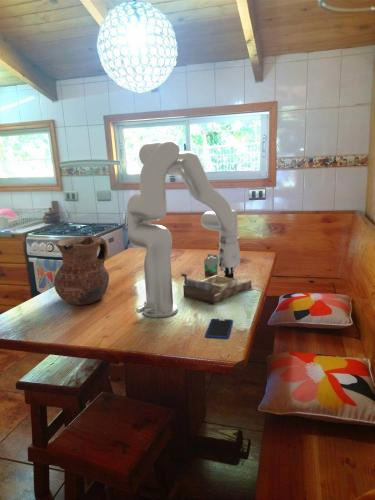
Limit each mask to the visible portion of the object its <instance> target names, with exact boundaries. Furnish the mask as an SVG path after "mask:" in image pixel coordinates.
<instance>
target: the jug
mask: <svg viewBox="0 0 375 500" xmlns="http://www.w3.org/2000/svg"><path fill="white" fill-rule="evenodd" d="M54 245H55V247H56V248H57V249H58V250H59V252H60V254H61V257H62V265H61V266H60V268H59V269H58V270H57V272H56V274H55V276H54V280H53V281H54V283H53V284H54V290H55V292H56V294H57V295H58V296H59V298H61V300H62V301H64V302H65V303H67V304H70V305H74V306H85V305H89V304H93V303H95V302H97V301H99V300H100V299H102V298H103V297H104V295H106V292H107V289H108V286H109V281H110V280H109V279H110V275H109V271H108V270H107V268H106V267H105V260H106V257H107V253H108V246H107V243H106V240H105V239H104V238H102V237H100V236H96V235H91V236H80V237H64V238H59V239H57V240H56V241H55V244H54ZM98 250H99V252H98ZM97 254H98V255H97Z"/></svg>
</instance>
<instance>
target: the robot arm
mask: <svg viewBox="0 0 375 500" xmlns="http://www.w3.org/2000/svg"><path fill="white" fill-rule="evenodd" d="M138 158H139V161H140V163H141V164H142V167H141V170H140V174H139V192H136V193H134V194H131V197H129V199H128V201H127V204H126V218H127V219H126V221H127V229H128V233H127V234H128V238H129V241H130V243H131V245H132V246H134V247H135V248H136V249H140V250H143V251H146V254H145V256H144V260H143V271H144V272H143V273H144V284H145V297H146V300H145V301H143V302H144V303H143V304H142V306H139V307H136V309H135V311H136V313H137V314H141V313H142V314H144V315H145V316H146V317H150V318H157V319H158V318H159V319H160V318H167V317H169V316H170V317H171V316H173V315H175V314H176V313H177V312H178V309H179V307H178V305H177V304H175V303H174V298H173V280H172V261H171V258H172V257H171V256H172V247H173V234H172V233H171V231H170V230H169V229H168V228H167V227H166V226H164V225H161V224H153V223H152V222H158V221H162V220H163V219H164V218H165V217H166V214H167V198H166V195H167V194H166V177H167V175H169V176H174V177H175V176H178V177H179V176H180V177H181V179H182V180H183V182H184V184H185V186H186V189H187V191H188V192H189V195H190V196H191V197H192V198H193V199H194V200H196V201H198V202H199V203H202V204H203V205H205V206H207V207H208V208H209V209H211V210H208V211H206V212H204V213H203V214H202V215H201V217H200V224H201V226H202V227H203V228H204V229H206V230H208V231H209V230H210V231H218V232H219V246H218V254H217V256H218V267H220V271H221V272H223V273H224V275H225V277H228V278H233V279H235V278H234V274H235V270H236V269H235V268H236V267H238V266H239V265H240V264H241V249H240V243H239V239H238V237H239V235H238V234H239V233H238V230H239V229H238V211H237V210H235V209H232V207H231V206H230V204H229V202H228V201H227V199H226V198H225V197H224V196H223V195H222V194H221V193H220V192H219V191H218V190H217V189H215V188H214V187H213V186H212V185H211V183H210V181H209V178H208V176H207V174H206V172H205V169H204V167H203V165H202V163H201V160H200V158H199V157H198V155H197V154H196V153H195V152H193V151H180V146H179V144H178V143H177V142H176V141H173V140H171V139H169V140H168V139H167V140H158V141H153V142H148V143H145V144H143V145H142V146H141V148H140V149H139V153H138Z"/></svg>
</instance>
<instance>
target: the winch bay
mask: <svg viewBox="0 0 375 500" xmlns="http://www.w3.org/2000/svg"><path fill="white" fill-rule="evenodd" d="M187 275H188V274H186V273H181V277H184V280H183V283H184V284H182V285H183V286H182V287H183V297H184V298H186V299H189V300H193V301H196V302H200V303H204V304H208V305H210V306H214V305H216V304H218V303H220V302H222V301H226V300H227V299H229V298H231V297H233V296H235V295H238V294H240V293H241V292H245V291H246V290H249V289H251V288H252V280H251V279H248V280H245V281H243V282H241V281H238V280H237V285H236V286H234V287H232V288H229V289H227V290H225V291H222V292H220V293H218V294H216V293H215V292H214V291H211V290H212V288H213V285H212V284H211V283H207V282H203V281H202V280H196V279H193V278H190V277H189V278H188V277H187ZM220 276H223V277H225V274H222V275H220Z"/></svg>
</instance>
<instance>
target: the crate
mask: <svg viewBox="0 0 375 500" xmlns="http://www.w3.org/2000/svg"><path fill="white" fill-rule="evenodd" d="M201 281H203V282H207V283H211V284H212V285H213V288H212V290H211V291H214V292H215V293H216V294H218V293H220V292H222V291H225V290H227V289H229V288H232V287H234V286H236V285H237V281H238V279H237V278H234V279H233V278H228V277H223V276H221V275H219V274H217V275H215V276H212V277H210V278H207V279H205V278H203V279H202V280H201Z"/></svg>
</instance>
